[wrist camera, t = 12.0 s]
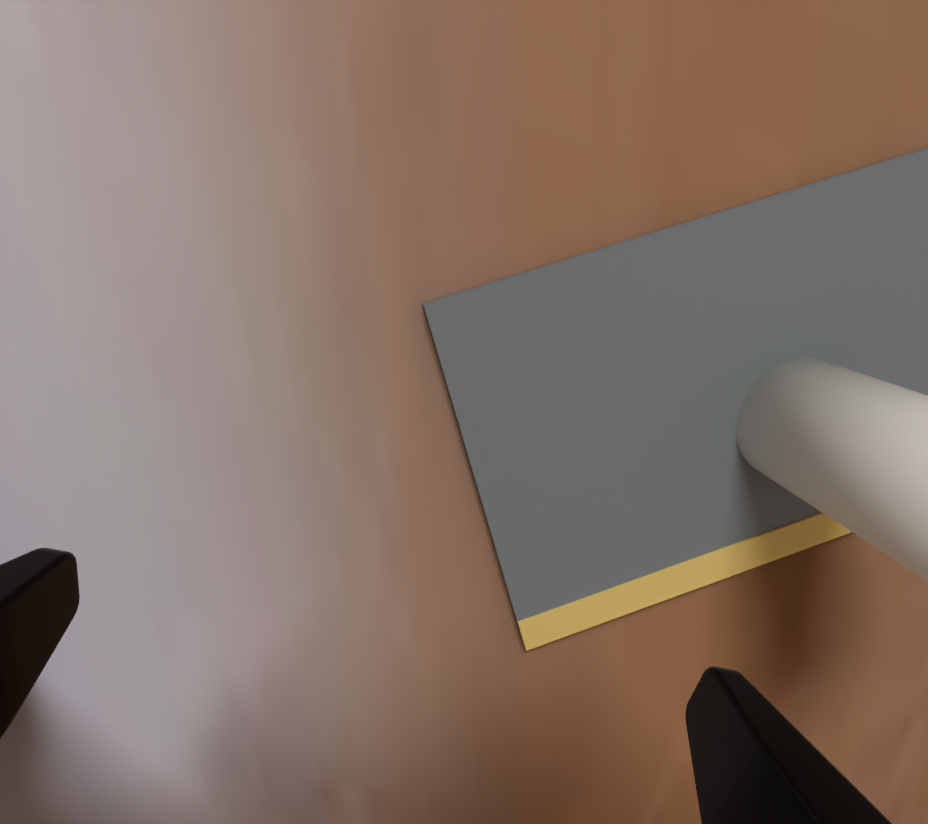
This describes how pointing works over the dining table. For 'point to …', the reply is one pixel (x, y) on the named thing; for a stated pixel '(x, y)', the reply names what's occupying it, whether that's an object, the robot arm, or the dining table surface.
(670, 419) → the mat
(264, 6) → the dining table surface
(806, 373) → the skittle
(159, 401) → the dining table surface
